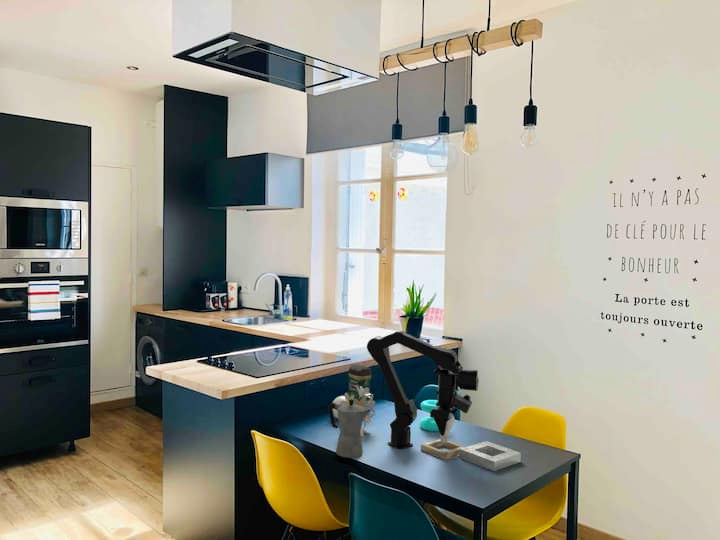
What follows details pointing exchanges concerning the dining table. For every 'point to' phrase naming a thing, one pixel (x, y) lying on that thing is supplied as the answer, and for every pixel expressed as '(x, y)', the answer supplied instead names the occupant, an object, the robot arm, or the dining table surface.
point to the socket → (498, 461)
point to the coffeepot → (348, 428)
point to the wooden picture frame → (432, 449)
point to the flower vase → (345, 401)
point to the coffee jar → (359, 380)
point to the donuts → (428, 422)
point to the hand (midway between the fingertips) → (444, 432)
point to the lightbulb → (448, 429)
